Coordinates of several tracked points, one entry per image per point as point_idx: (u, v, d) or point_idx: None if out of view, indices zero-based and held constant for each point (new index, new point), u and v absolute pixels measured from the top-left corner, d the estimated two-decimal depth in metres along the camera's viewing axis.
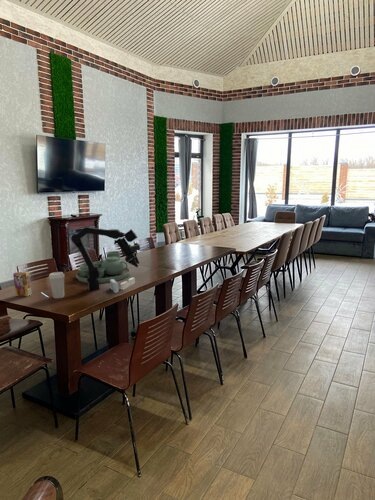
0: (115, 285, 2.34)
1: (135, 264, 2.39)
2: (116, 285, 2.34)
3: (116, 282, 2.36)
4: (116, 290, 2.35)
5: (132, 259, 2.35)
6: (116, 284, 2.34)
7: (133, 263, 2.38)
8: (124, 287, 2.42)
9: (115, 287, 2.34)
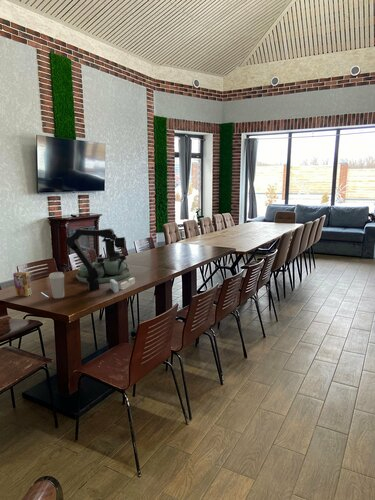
0: (115, 285, 2.34)
1: (103, 269, 2.39)
2: (116, 285, 2.34)
3: (116, 282, 2.36)
4: (116, 290, 2.35)
5: (99, 263, 2.37)
6: (116, 284, 2.34)
7: (102, 266, 2.39)
8: (124, 287, 2.42)
9: (115, 287, 2.34)
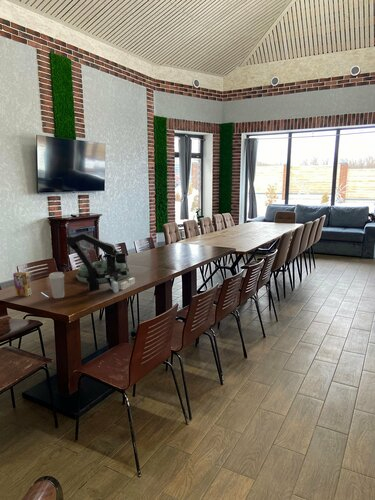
0: (115, 285, 2.34)
1: (109, 283, 2.42)
2: (116, 285, 2.34)
3: (116, 282, 2.36)
4: (116, 290, 2.35)
5: (105, 278, 2.40)
6: (116, 284, 2.34)
7: (108, 281, 2.43)
8: (124, 287, 2.42)
9: (115, 287, 2.34)
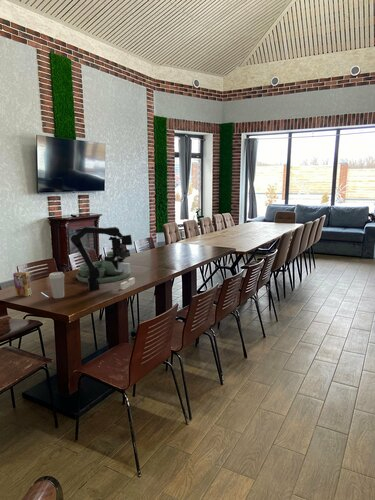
0: (128, 265, 2.39)
1: (115, 266, 2.43)
2: (129, 265, 2.39)
3: (127, 263, 2.41)
4: (129, 270, 2.39)
5: (113, 261, 2.40)
6: (129, 264, 2.39)
7: (114, 264, 2.43)
8: (124, 287, 2.42)
9: (128, 267, 2.39)
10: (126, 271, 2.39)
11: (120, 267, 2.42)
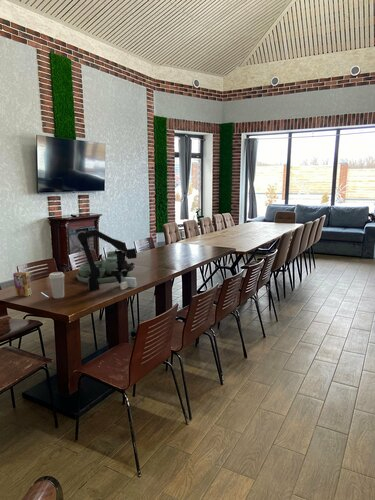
0: (135, 280, 2.45)
1: (119, 280, 2.45)
2: (135, 280, 2.46)
3: None
4: (135, 284, 2.46)
5: (117, 275, 2.42)
6: (135, 279, 2.46)
7: (118, 278, 2.45)
8: (124, 287, 2.42)
9: (135, 282, 2.45)
10: (133, 285, 2.46)
11: None
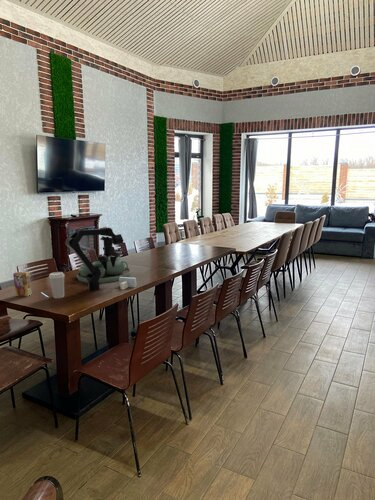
0: (135, 280, 2.45)
1: (105, 266, 2.45)
2: (135, 280, 2.46)
3: None
4: (135, 284, 2.46)
5: (103, 261, 2.41)
6: (135, 279, 2.46)
7: (104, 264, 2.44)
8: (124, 287, 2.42)
9: (135, 282, 2.45)
10: (133, 285, 2.46)
11: None
